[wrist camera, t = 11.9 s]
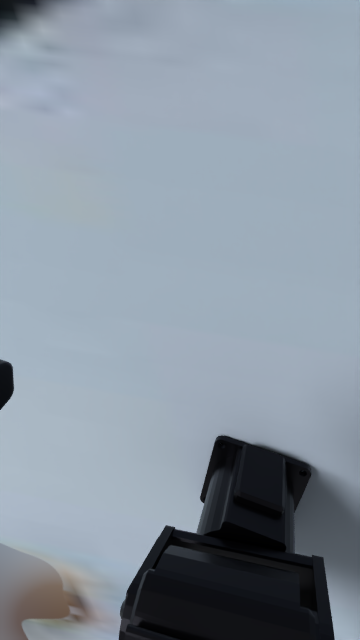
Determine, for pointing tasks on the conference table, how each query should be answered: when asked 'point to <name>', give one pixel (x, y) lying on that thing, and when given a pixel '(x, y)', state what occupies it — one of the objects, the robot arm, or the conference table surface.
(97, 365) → the conference table surface
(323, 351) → the conference table surface
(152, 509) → the conference table surface
